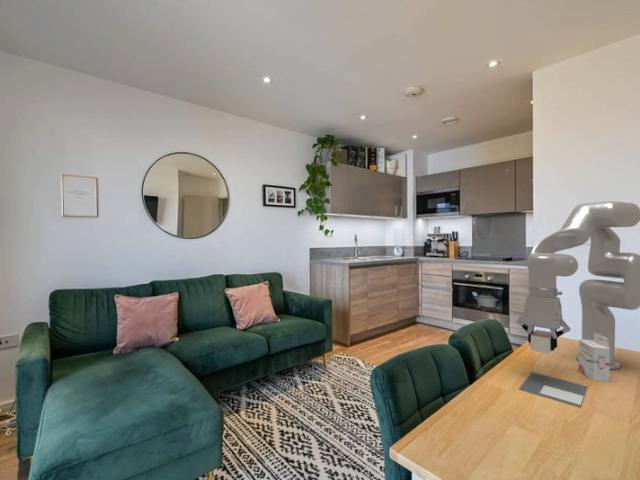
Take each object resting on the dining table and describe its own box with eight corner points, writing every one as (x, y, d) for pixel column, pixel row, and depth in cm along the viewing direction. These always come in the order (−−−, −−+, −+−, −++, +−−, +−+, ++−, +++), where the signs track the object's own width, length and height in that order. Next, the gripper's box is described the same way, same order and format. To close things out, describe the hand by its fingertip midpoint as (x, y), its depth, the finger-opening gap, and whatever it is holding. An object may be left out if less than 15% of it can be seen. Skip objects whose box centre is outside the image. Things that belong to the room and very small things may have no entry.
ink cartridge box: (577, 371, 113) (577, 330, 113) (593, 373, 112) (594, 331, 112) (592, 382, 105) (593, 337, 104) (610, 384, 104) (611, 338, 103)
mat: (531, 373, 111) (531, 371, 111) (587, 388, 100) (587, 385, 100) (518, 391, 98) (518, 388, 98) (580, 410, 88) (580, 407, 88)
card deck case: (536, 343, 110) (536, 329, 110) (553, 347, 106) (553, 332, 106) (530, 350, 104) (530, 334, 104) (549, 354, 101) (549, 338, 101)
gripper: (576, 294, 101) (576, 350, 102) (515, 288, 113) (516, 338, 114) (573, 297, 96) (573, 357, 97) (509, 291, 108) (510, 344, 109)
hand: (542, 346), depth 105 cm, fingers closed on card deck case, 5 cm apart
